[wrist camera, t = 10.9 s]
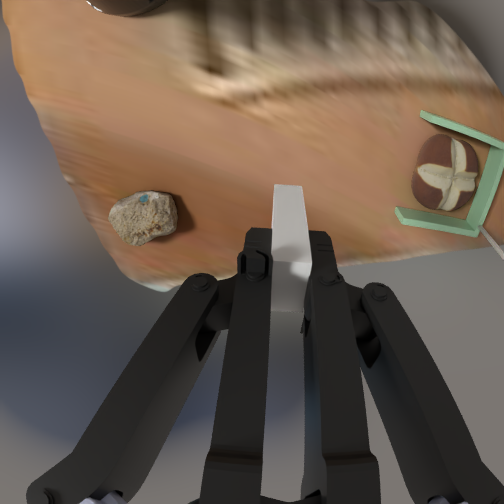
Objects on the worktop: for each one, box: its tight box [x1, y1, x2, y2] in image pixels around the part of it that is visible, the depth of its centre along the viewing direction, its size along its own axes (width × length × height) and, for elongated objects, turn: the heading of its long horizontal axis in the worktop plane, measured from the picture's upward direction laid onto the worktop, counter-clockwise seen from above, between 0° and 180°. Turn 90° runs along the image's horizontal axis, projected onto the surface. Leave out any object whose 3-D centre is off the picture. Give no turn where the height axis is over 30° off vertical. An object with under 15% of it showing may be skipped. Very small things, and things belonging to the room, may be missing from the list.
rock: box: [108, 190, 178, 246], centre depth 44 cm, size 8×11×4 cm
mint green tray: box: [395, 110, 504, 260], centre depth 31 cm, size 16×15×16 cm
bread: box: [412, 134, 478, 211], centre depth 35 cm, size 11×11×5 cm
